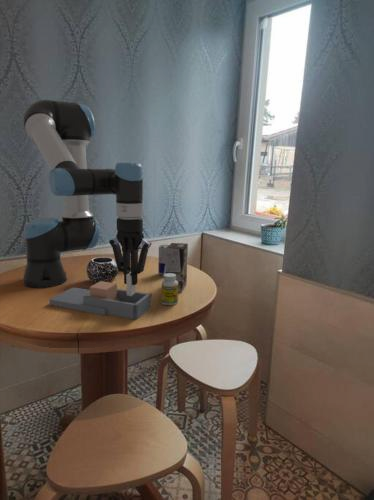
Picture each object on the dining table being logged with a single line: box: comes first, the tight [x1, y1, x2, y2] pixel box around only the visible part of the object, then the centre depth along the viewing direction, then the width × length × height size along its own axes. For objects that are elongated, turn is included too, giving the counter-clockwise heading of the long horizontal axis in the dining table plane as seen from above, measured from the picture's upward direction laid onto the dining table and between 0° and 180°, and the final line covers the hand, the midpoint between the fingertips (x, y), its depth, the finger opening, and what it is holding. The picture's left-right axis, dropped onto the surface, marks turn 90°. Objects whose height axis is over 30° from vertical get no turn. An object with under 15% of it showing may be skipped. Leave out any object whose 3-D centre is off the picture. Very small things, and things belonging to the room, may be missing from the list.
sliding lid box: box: [48, 286, 152, 321], centre depth 112 cm, size 30×12×4 cm, turn 71°
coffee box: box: [166, 242, 189, 293], centre depth 129 cm, size 9×6×16 cm
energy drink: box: [157, 244, 170, 277], centre depth 144 cm, size 5×5×12 cm
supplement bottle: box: [161, 273, 179, 306], centre depth 116 cm, size 5×5×10 cm
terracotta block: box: [89, 280, 118, 300], centre depth 111 cm, size 6×6×5 cm
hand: (131, 294), depth 108 cm, fingers closed
